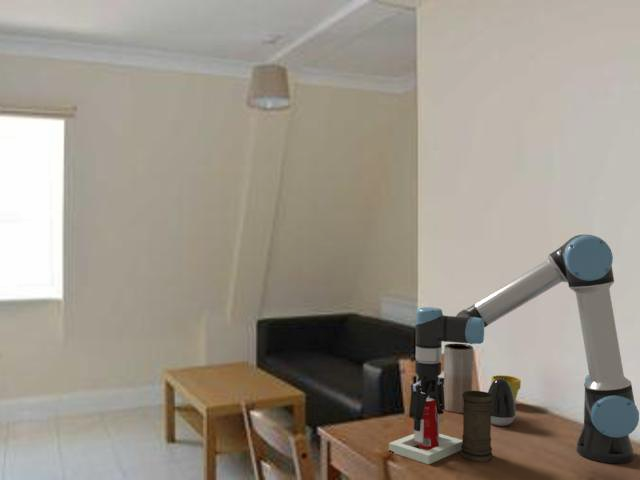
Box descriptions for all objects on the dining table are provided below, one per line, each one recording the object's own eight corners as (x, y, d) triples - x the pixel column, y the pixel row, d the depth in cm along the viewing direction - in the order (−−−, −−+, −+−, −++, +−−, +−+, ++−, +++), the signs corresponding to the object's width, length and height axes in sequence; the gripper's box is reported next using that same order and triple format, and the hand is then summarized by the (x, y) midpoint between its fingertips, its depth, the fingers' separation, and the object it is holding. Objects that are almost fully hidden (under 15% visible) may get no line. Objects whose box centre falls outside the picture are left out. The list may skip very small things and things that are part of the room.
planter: (477, 409, 238) (478, 346, 237) (462, 415, 230) (463, 350, 230) (452, 403, 245) (454, 342, 244) (437, 409, 237) (439, 345, 236)
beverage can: (440, 452, 194) (441, 401, 193) (418, 451, 194) (418, 400, 193) (436, 445, 199) (437, 395, 199) (415, 444, 199) (415, 395, 199)
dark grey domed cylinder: (519, 422, 223) (520, 377, 222) (510, 430, 214) (511, 383, 214) (489, 417, 228) (490, 373, 228) (479, 424, 220) (480, 379, 219)
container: (486, 464, 184) (488, 400, 184) (455, 457, 189) (457, 395, 189) (496, 454, 192) (498, 393, 191) (466, 448, 197) (467, 388, 196)
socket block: (463, 448, 196) (464, 439, 196) (428, 464, 184) (428, 454, 183) (424, 437, 206) (425, 428, 206) (388, 451, 193) (388, 442, 193)
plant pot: (524, 404, 245) (525, 378, 244) (513, 410, 237) (513, 383, 236) (498, 399, 251) (498, 373, 251) (486, 404, 243) (486, 378, 243)
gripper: (437, 354, 204) (435, 427, 205) (396, 363, 189) (395, 443, 190) (458, 357, 199) (456, 433, 199) (418, 368, 184) (416, 449, 185)
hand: (426, 438), depth 195 cm, fingers open, 7 cm apart
